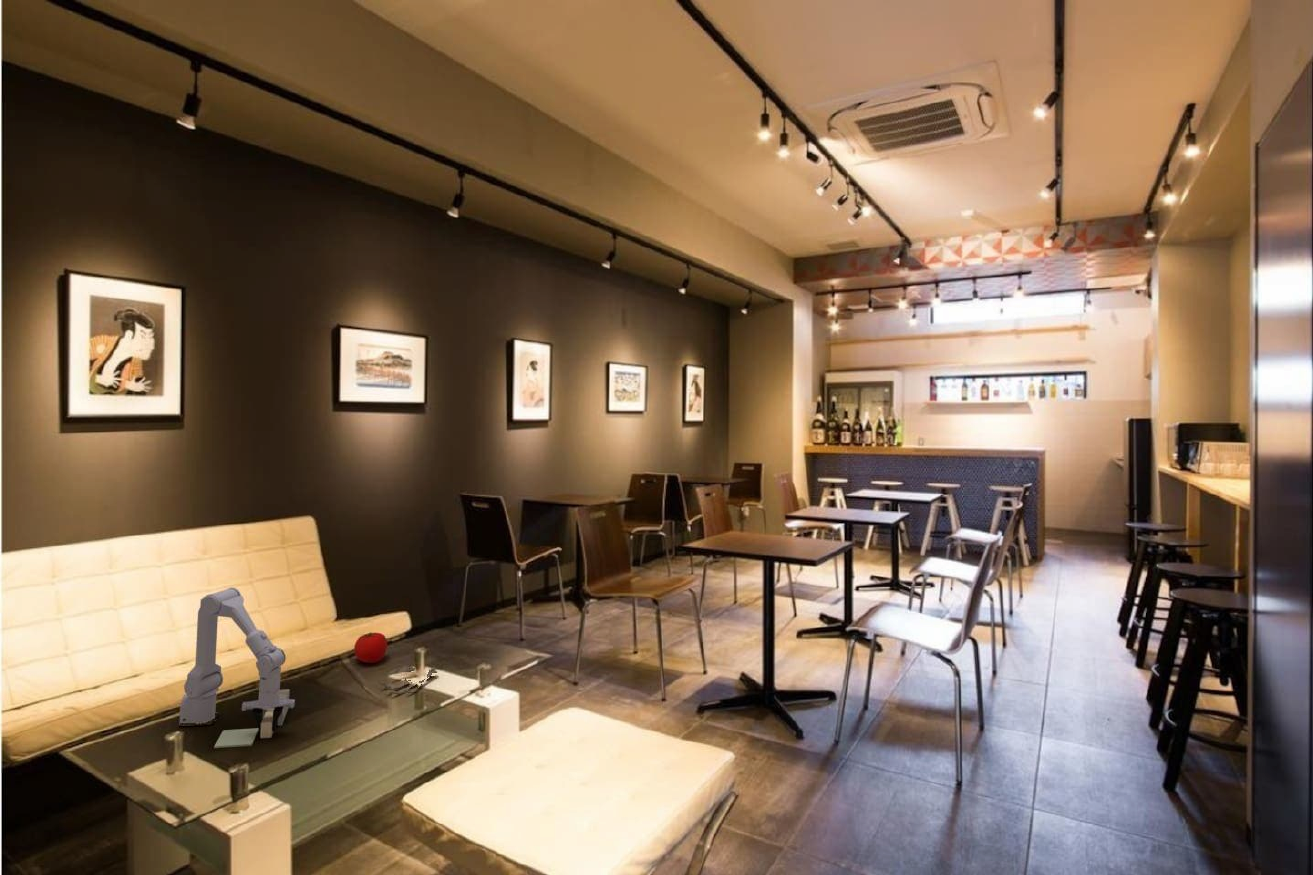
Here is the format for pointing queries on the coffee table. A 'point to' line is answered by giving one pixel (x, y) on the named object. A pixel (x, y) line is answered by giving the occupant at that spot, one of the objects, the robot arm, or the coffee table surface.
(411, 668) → the skeleton model
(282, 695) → the frame
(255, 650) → the robot arm
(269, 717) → the beige rectangular block
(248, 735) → the pad
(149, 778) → the coffee table surface
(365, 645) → the tomato
